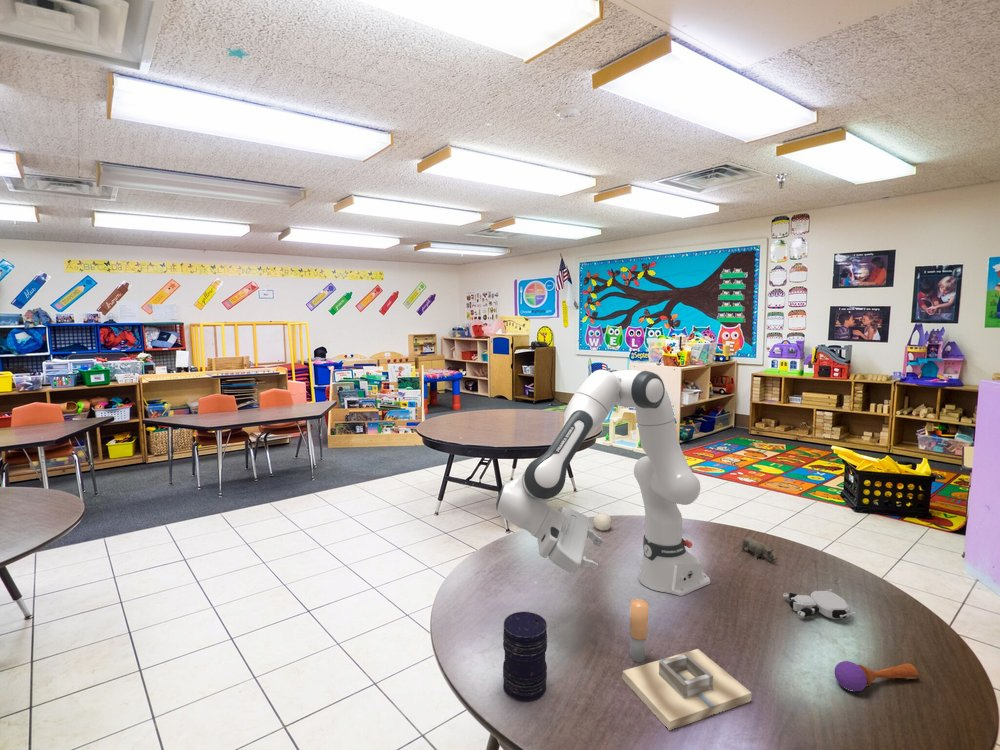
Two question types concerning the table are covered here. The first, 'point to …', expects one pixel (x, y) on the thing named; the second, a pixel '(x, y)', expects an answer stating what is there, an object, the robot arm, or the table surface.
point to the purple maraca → (868, 674)
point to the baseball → (602, 521)
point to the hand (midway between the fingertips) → (599, 554)
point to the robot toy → (819, 604)
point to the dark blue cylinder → (525, 656)
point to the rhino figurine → (757, 548)
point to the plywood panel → (685, 688)
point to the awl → (638, 629)
